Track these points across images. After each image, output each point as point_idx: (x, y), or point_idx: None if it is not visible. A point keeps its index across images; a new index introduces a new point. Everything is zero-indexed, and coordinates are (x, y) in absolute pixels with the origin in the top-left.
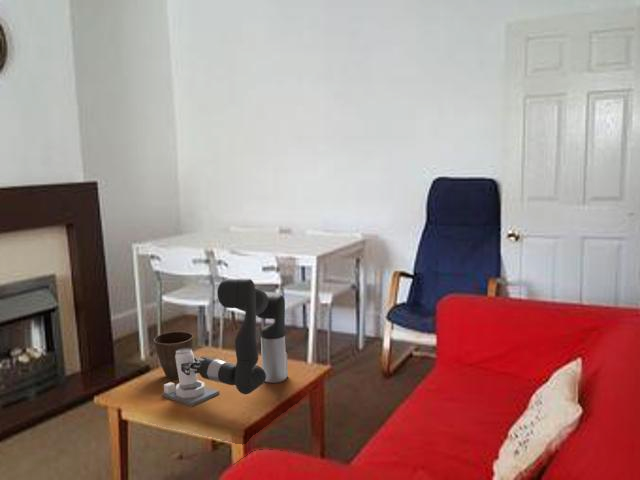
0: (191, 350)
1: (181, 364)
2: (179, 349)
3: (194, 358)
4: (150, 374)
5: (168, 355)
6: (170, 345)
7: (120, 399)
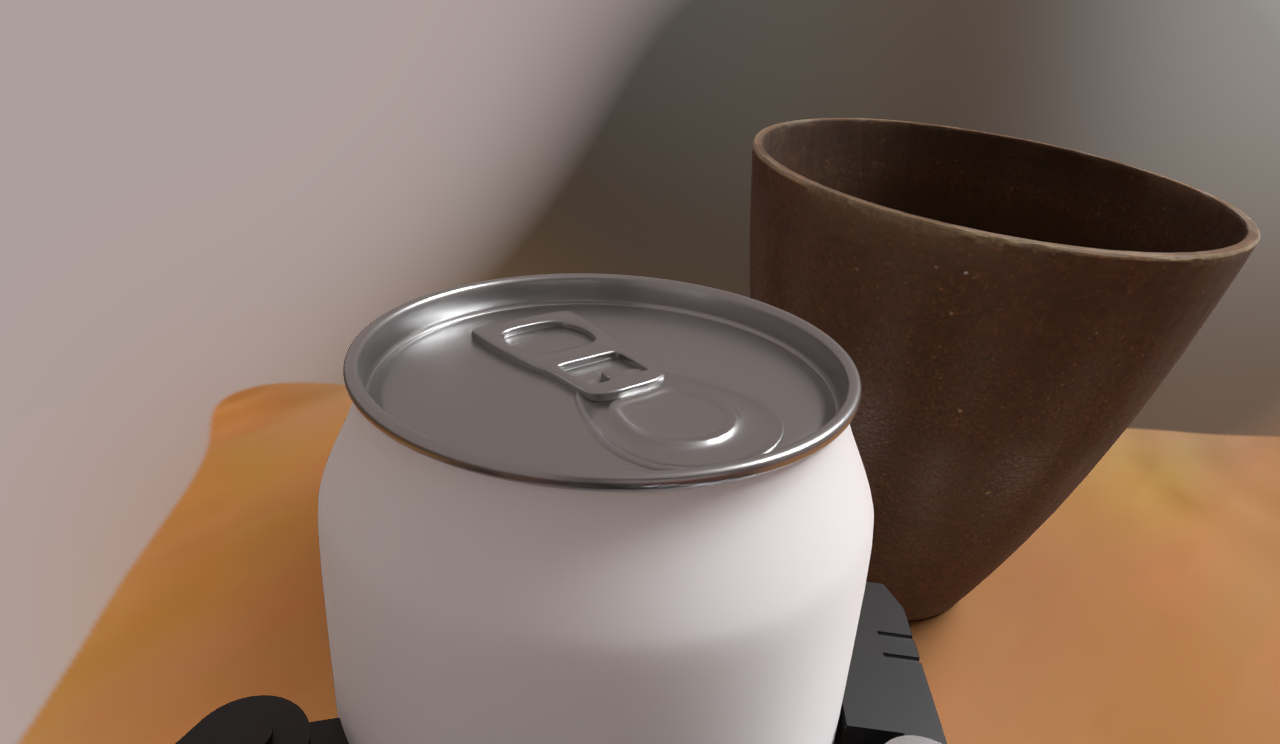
0: (807, 481)
1: (213, 724)
2: (646, 279)
3: (863, 721)
4: None
5: None
6: (831, 215)
7: (229, 484)
